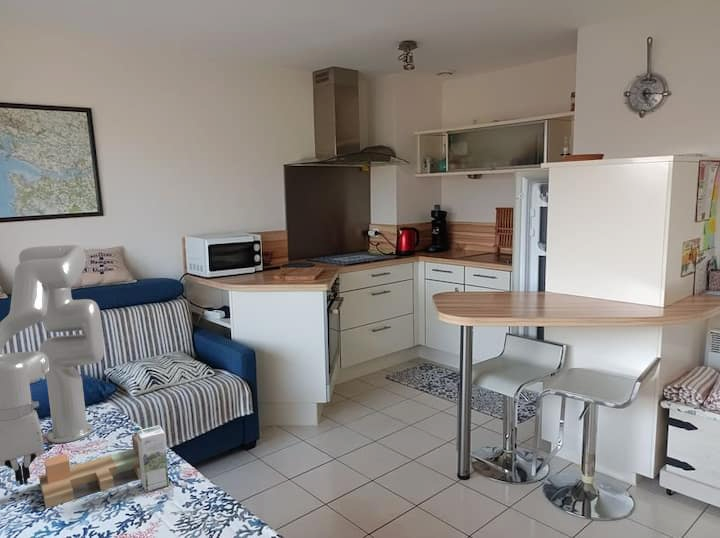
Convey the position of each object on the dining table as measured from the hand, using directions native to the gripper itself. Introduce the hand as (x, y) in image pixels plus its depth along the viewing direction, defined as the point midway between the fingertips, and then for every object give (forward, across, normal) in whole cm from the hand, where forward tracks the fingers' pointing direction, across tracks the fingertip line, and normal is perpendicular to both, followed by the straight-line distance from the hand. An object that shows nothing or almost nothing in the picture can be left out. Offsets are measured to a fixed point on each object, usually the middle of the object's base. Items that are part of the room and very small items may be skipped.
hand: (23, 482), depth 133 cm
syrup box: (+4, -27, +16) cm, 32 cm away
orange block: (+1, -8, 0) cm, 8 cm away
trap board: (+4, -16, +4) cm, 17 cm away
